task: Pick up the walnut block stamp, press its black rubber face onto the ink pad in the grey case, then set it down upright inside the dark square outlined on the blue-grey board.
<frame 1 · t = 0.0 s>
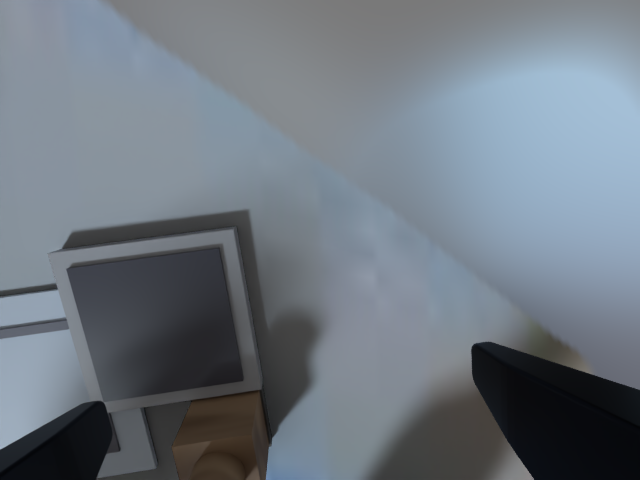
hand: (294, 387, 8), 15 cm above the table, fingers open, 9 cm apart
stamp: (233, 414, 25), on the table
board: (31, 393, 23), on the table
ink pad: (167, 317, 23), on the table
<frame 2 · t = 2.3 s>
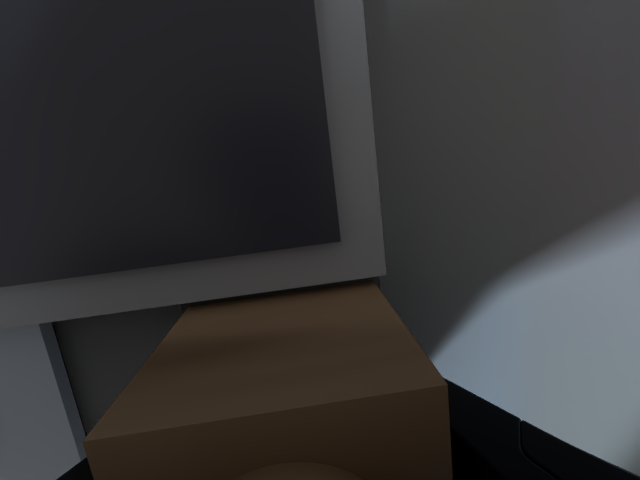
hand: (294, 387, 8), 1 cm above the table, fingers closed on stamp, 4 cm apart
stamp: (294, 360, 10), on the table, touching gripper
ink pad: (114, 61, 8), on the table
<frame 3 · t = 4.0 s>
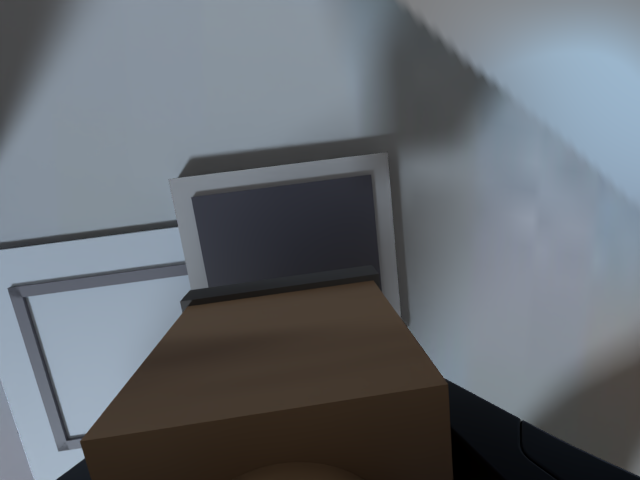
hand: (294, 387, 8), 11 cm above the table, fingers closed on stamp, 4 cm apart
stamp: (294, 359, 10), point 10 cm above the table, touching gripper
board: (131, 355, 20), on the table
ink pad: (294, 264, 19), on the table
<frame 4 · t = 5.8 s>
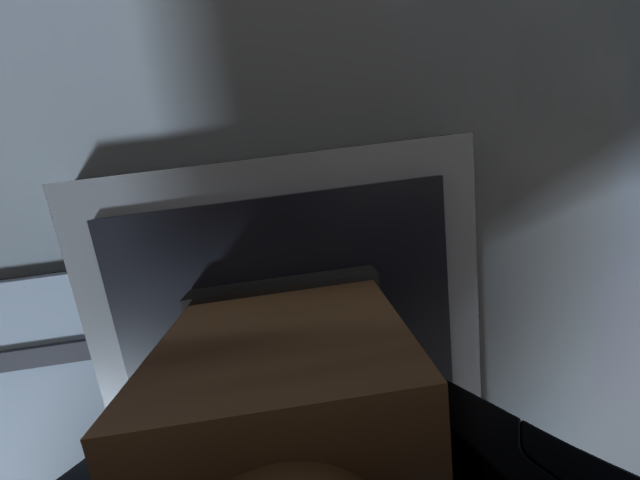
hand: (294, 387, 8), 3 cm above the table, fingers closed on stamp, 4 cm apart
stamp: (294, 359, 10), point 2 cm above the table, touching gripper
ink pad: (293, 333, 11), on the table
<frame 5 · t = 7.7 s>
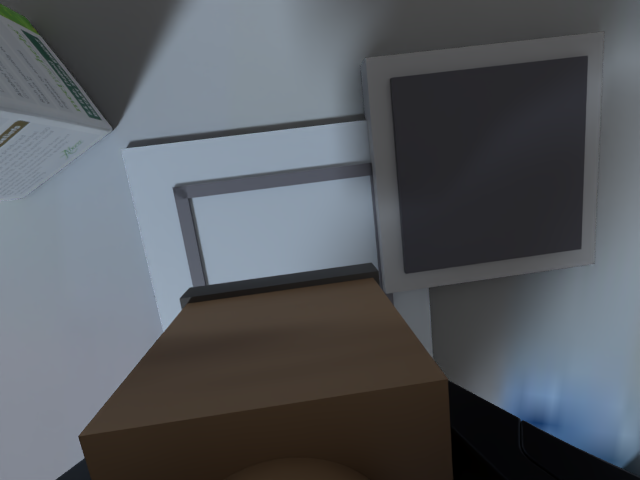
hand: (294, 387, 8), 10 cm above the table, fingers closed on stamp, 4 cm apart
syrup box: (28, 115, 16), on the table
stamp: (294, 357, 10), point 9 cm above the table, touching gripper
board: (293, 270, 18), on the table
ink pad: (476, 169, 18), on the table
when the fingers open (3 cm above the table, at t = 9.2 s): stamp stays where it is, resting on board.
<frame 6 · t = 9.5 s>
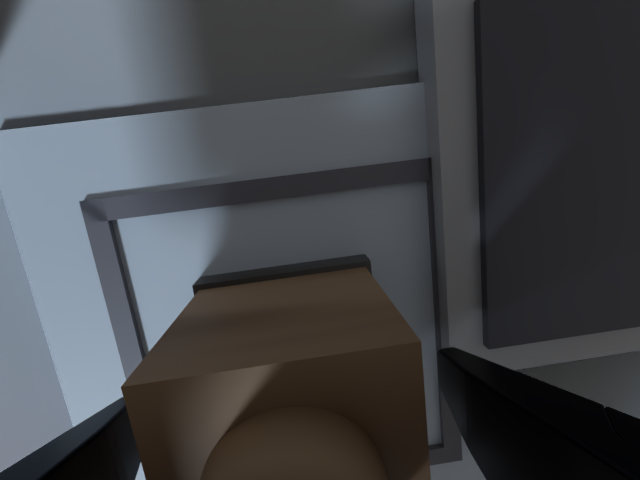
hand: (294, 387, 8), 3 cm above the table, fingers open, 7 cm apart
stamp: (294, 340, 10), resting on board
board: (293, 336, 11), on the table
ink pad: (600, 169, 11), on the table
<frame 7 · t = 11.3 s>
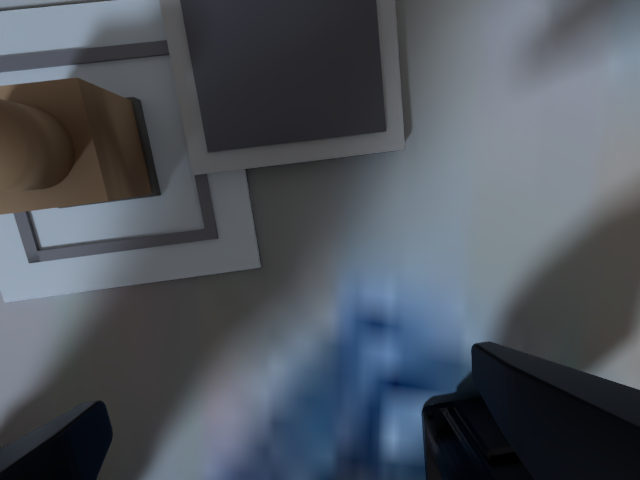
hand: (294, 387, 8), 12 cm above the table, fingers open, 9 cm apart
stamp: (103, 154, 18), resting on board
board: (107, 156, 18), on the table
ink pad: (286, 54, 18), on the table
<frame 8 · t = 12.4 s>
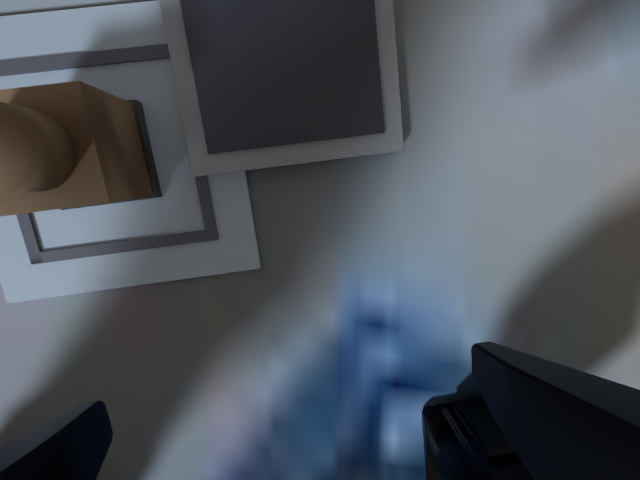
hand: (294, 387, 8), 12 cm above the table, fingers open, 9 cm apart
stamp: (105, 156, 18), resting on board
board: (109, 158, 18), on the table
ink pad: (285, 56, 18), on the table
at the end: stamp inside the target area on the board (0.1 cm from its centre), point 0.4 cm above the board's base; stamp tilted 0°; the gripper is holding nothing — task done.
